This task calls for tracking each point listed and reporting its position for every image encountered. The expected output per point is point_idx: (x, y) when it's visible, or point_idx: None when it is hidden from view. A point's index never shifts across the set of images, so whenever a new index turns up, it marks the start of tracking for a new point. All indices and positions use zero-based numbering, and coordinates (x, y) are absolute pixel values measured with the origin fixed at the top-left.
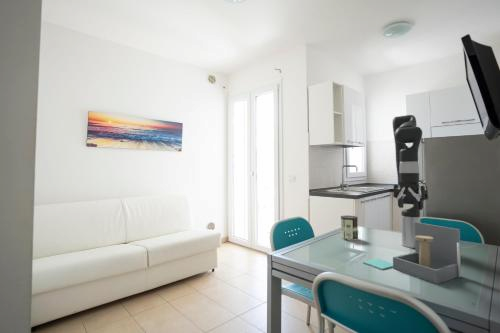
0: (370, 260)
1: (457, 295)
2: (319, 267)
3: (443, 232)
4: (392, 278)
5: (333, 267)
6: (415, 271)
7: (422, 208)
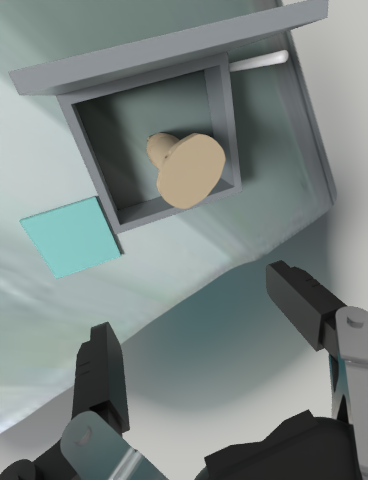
0: (44, 254)
1: (276, 185)
2: None
3: (225, 45)
4: (174, 257)
5: None
6: None
7: (296, 272)
